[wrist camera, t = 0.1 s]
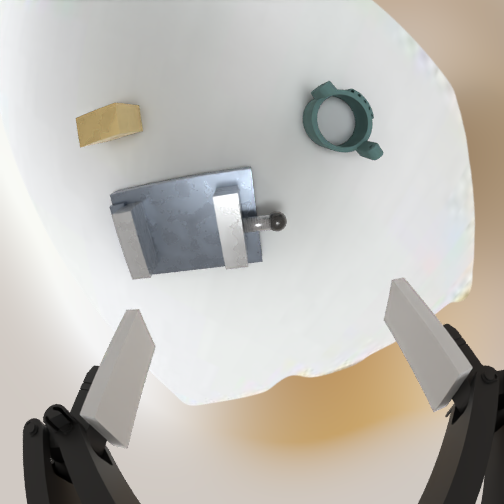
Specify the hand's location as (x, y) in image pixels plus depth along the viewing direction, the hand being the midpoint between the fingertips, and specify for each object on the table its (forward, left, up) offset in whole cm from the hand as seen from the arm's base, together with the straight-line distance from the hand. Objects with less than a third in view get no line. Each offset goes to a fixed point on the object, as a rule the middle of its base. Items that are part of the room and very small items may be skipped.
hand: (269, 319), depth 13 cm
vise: (+4, -10, -28) cm, 30 cm away
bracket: (-9, +13, -28) cm, 32 cm away
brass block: (-13, -17, -28) cm, 35 cm away
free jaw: (+4, 0, -26) cm, 26 cm away
